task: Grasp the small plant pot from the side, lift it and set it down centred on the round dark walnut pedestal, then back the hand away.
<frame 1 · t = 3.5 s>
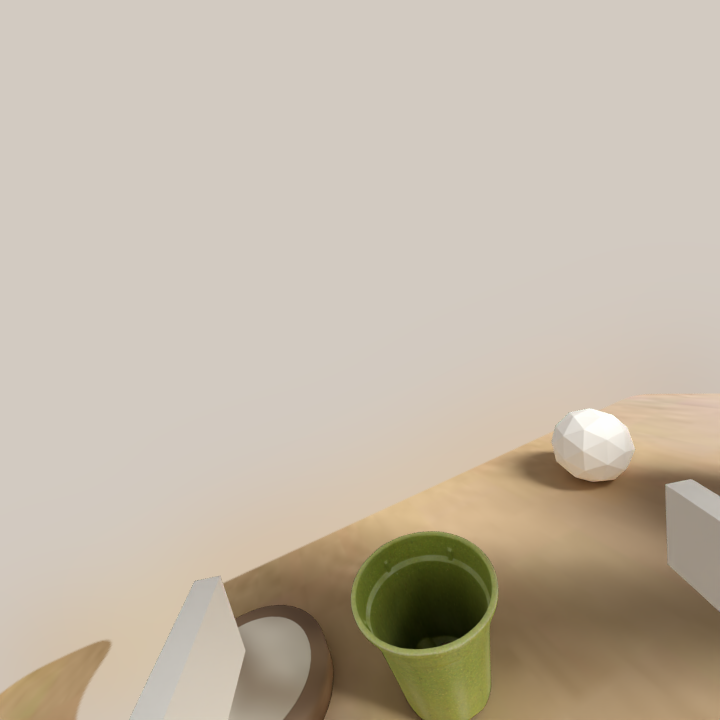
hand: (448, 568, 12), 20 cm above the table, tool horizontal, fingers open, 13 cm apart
plant pot: (446, 682, 28), on the table
pedestal: (256, 695, 30), on the table
geometric ball: (594, 476, 45), on the table
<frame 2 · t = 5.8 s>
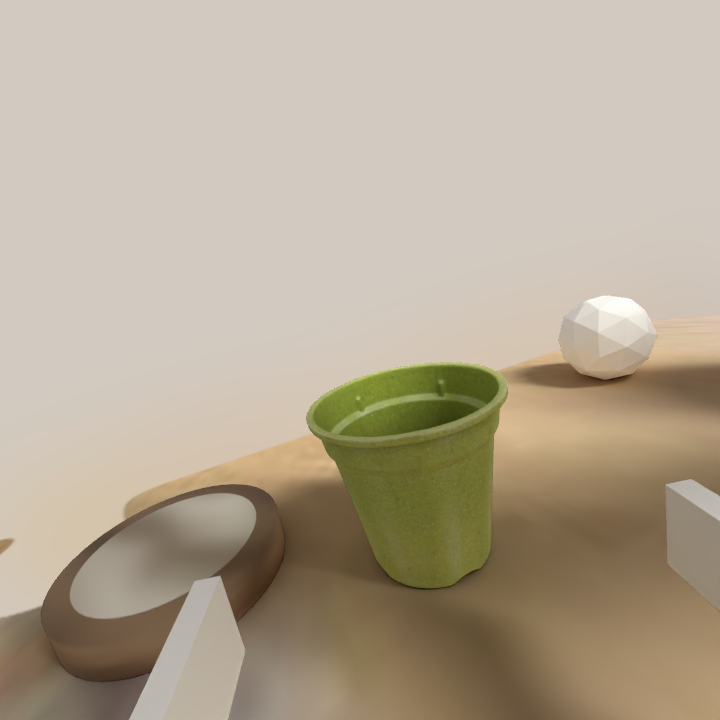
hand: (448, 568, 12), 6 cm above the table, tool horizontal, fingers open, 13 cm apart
plant pot: (432, 549, 21), on the table
pedestal: (181, 574, 23), on the table
geometric ball: (607, 376, 39), on the table
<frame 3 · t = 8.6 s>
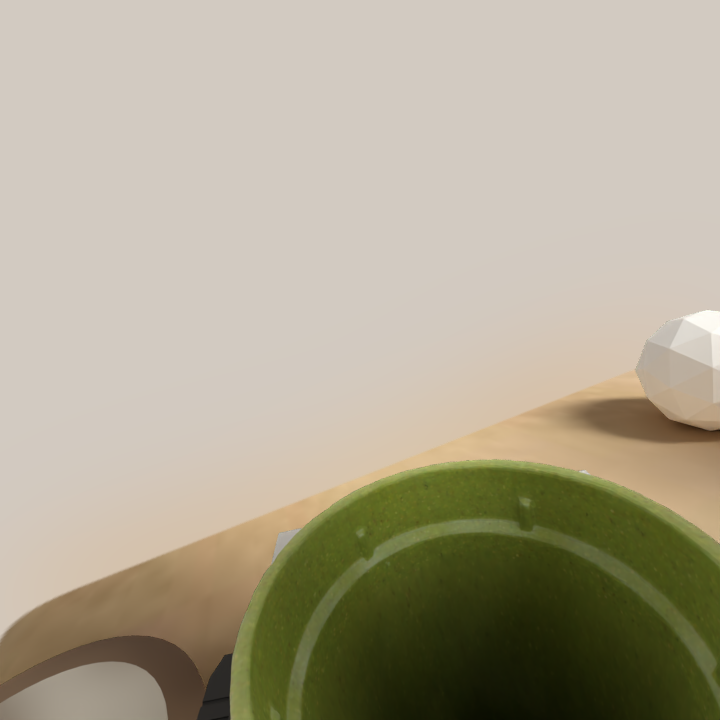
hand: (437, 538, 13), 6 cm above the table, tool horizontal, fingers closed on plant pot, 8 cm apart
geometric ball: (708, 424, 27), on the table
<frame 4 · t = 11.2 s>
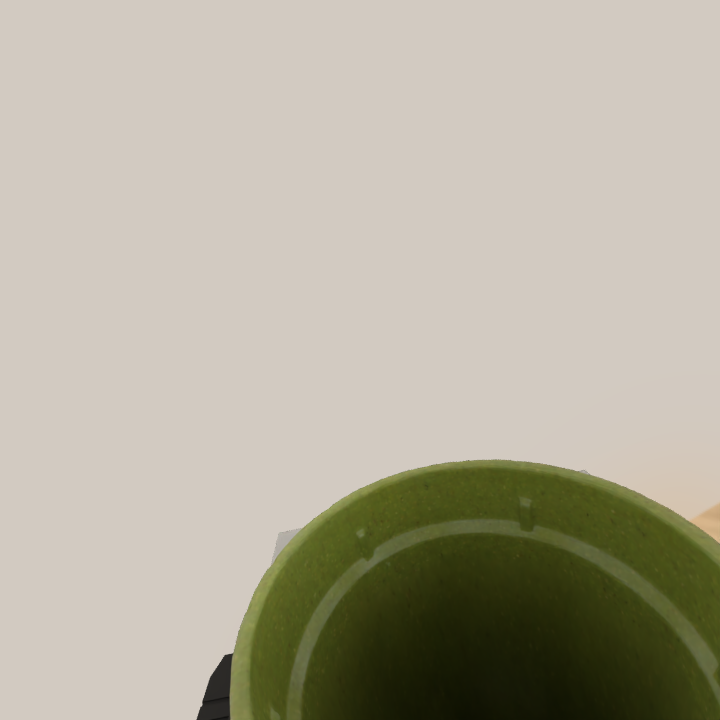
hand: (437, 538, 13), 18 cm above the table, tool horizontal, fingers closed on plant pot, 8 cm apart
when the fingers open (9 cm above the table, at t = 13.8 s): plant pot moves 2 cm, resting on pedestal.
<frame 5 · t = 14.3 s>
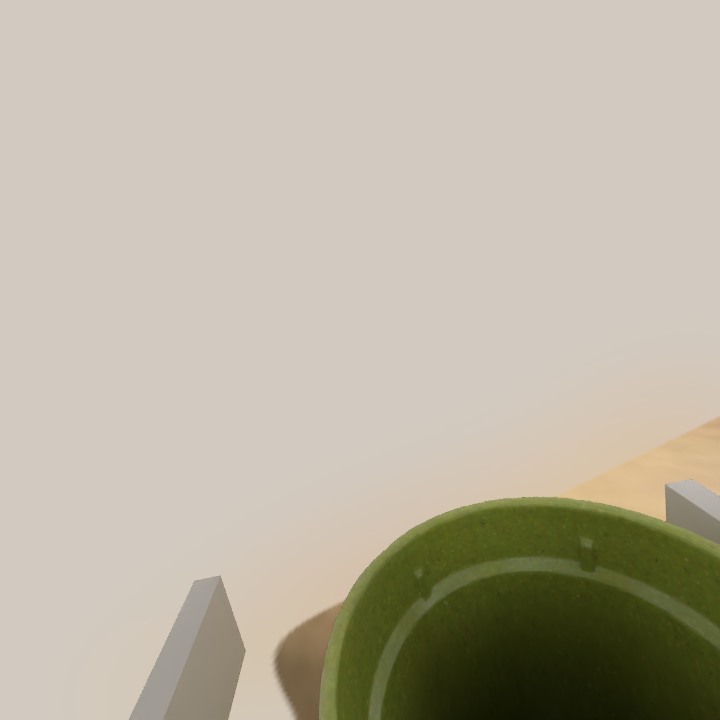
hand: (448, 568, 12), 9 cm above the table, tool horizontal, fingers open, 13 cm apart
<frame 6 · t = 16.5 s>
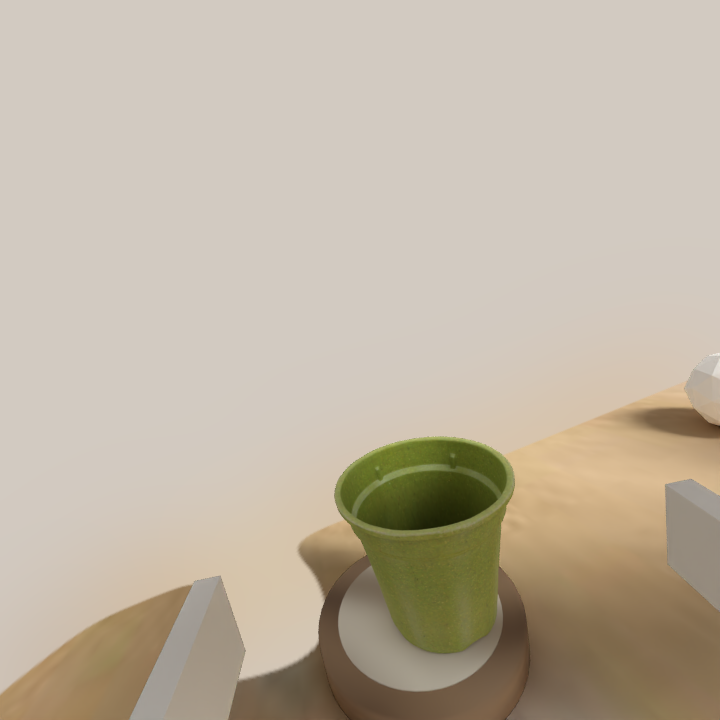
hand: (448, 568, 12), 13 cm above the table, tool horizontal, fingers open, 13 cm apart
plant pot: (443, 610, 23), point 2 cm above the table, touching pedestal
pedestal: (422, 635, 24), on the table
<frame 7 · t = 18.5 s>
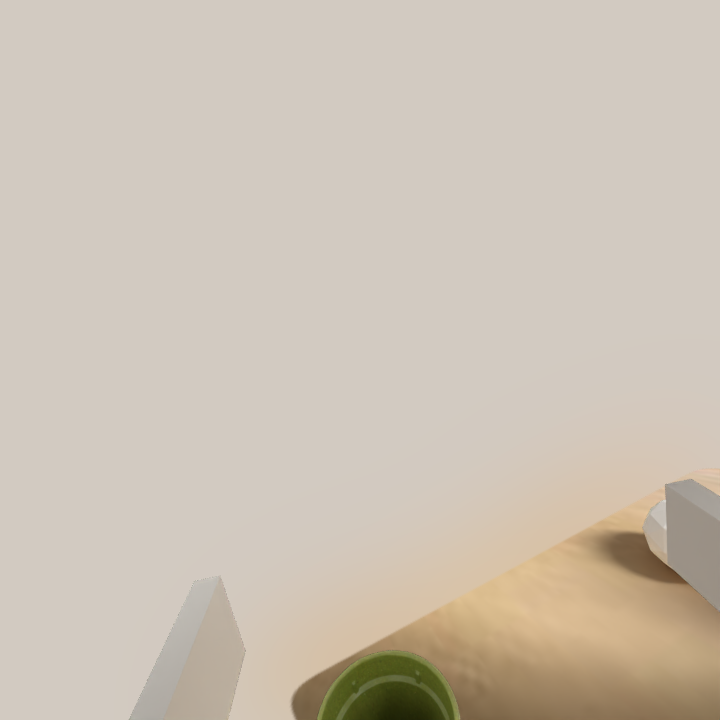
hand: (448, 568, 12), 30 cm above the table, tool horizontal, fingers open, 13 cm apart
geometric ball: (687, 566, 45), on the table
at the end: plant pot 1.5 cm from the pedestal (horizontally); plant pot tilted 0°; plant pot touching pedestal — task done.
